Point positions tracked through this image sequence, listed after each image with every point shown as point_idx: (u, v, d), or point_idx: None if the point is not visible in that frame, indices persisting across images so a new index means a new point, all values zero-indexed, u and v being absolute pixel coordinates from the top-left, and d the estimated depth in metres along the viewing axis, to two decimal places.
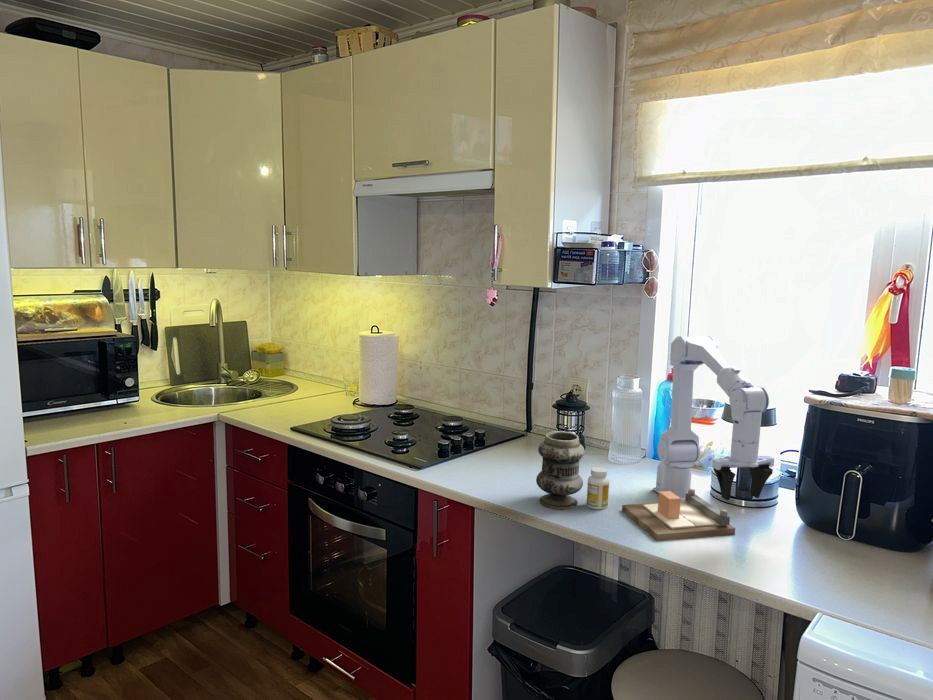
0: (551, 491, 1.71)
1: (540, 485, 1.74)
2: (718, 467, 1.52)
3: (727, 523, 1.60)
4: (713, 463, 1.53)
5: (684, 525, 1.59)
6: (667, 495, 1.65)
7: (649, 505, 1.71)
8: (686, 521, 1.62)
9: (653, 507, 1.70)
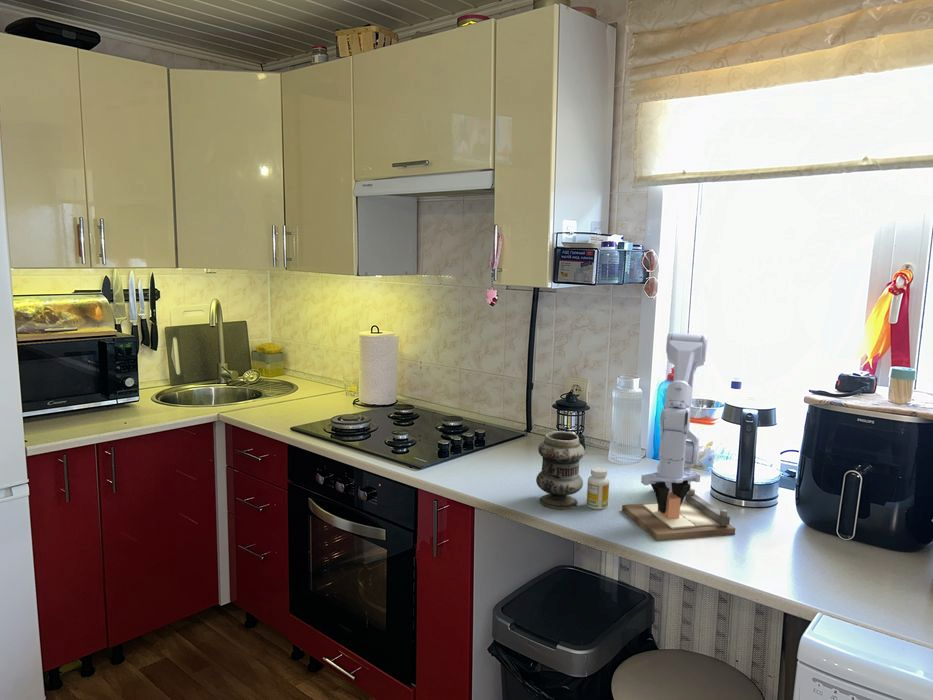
0: (551, 491, 1.71)
1: (540, 485, 1.74)
2: (646, 483, 1.62)
3: (727, 523, 1.60)
4: (642, 479, 1.63)
5: (684, 525, 1.59)
6: None
7: (649, 505, 1.71)
8: (686, 521, 1.62)
9: (653, 507, 1.70)
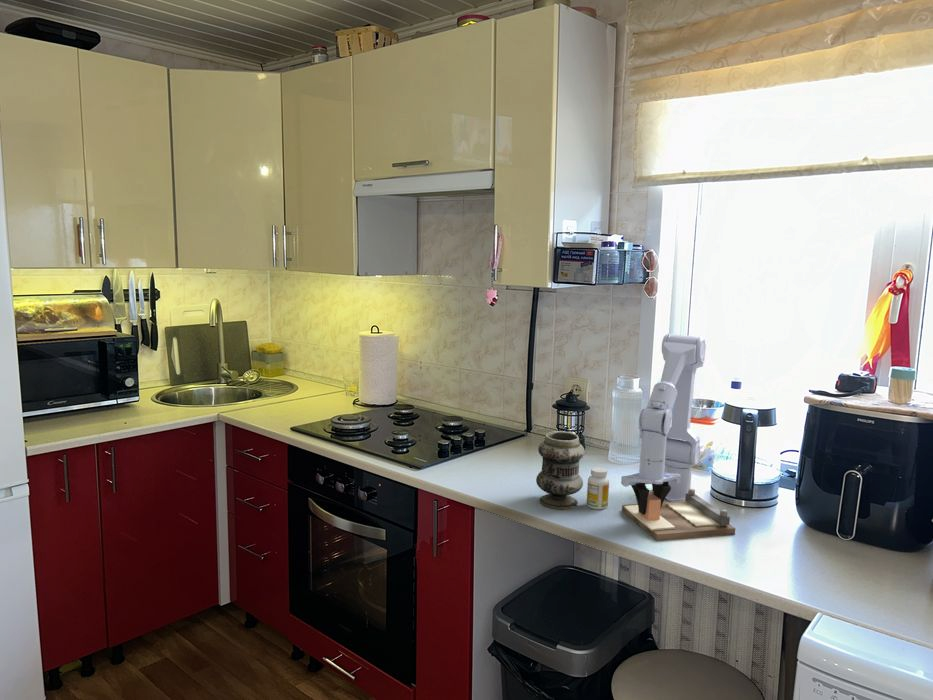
0: (551, 491, 1.71)
1: (540, 485, 1.74)
2: (626, 484, 1.60)
3: (727, 523, 1.60)
4: (622, 480, 1.62)
5: (664, 527, 1.58)
6: (648, 496, 1.63)
7: (630, 506, 1.70)
8: (666, 523, 1.60)
9: (634, 508, 1.69)
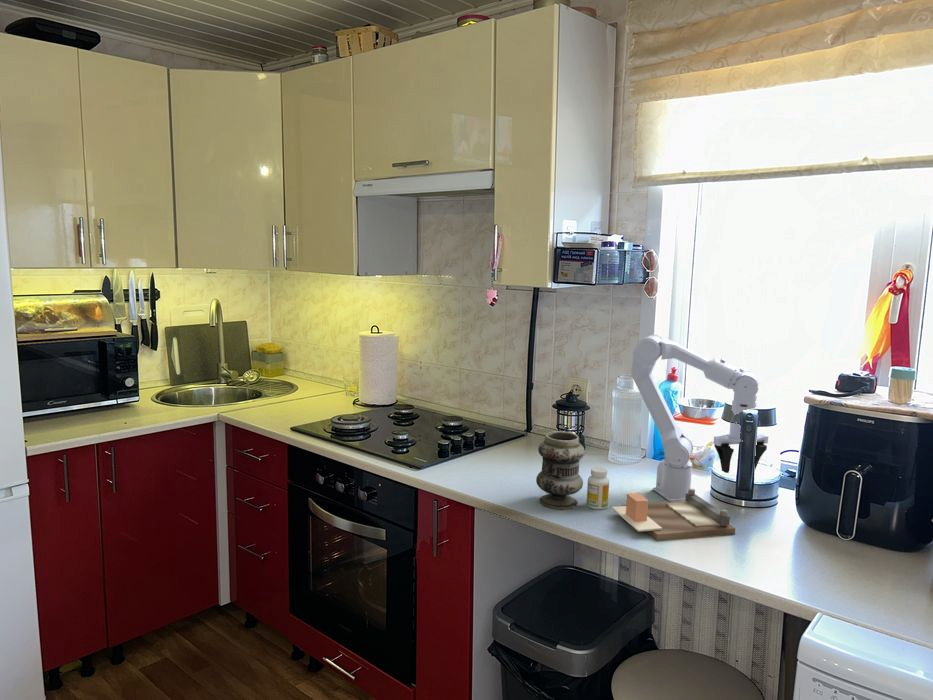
0: (551, 491, 1.71)
1: (540, 485, 1.74)
2: (719, 443, 1.73)
3: (727, 523, 1.60)
4: (714, 440, 1.74)
5: (651, 528, 1.57)
6: (635, 497, 1.63)
7: (618, 507, 1.69)
8: (653, 523, 1.60)
9: (622, 509, 1.68)
